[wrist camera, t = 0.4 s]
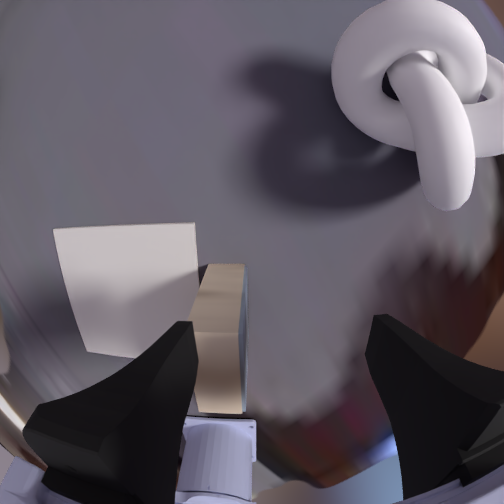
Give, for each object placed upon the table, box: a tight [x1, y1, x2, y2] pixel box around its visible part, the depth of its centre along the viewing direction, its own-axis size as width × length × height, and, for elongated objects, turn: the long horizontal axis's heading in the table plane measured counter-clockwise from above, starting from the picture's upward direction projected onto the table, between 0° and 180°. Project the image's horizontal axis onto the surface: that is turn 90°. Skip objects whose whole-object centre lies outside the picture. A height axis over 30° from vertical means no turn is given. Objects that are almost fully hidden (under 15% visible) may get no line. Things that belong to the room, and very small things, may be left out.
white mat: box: [53, 222, 200, 358], centre depth 21 cm, size 12×12×1 cm
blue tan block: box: [187, 264, 249, 414], centre depth 18 cm, size 6×3×8 cm, turn 1°
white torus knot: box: [331, 0, 504, 211], centre depth 12 cm, size 11×12×9 cm
